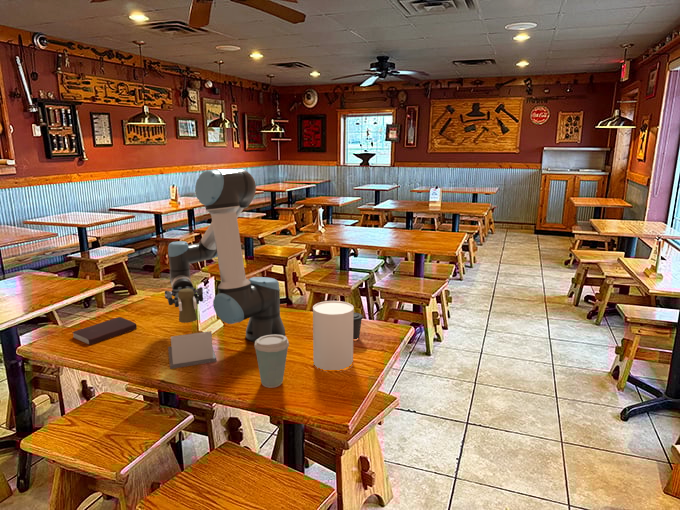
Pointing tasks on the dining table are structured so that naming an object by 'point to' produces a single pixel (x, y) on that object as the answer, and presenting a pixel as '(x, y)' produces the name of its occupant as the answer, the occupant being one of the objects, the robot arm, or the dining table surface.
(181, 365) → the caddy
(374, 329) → the dining table surface
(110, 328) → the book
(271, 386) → the disposable coffee cup
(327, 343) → the canister
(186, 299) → the cork
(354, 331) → the coffee cup
